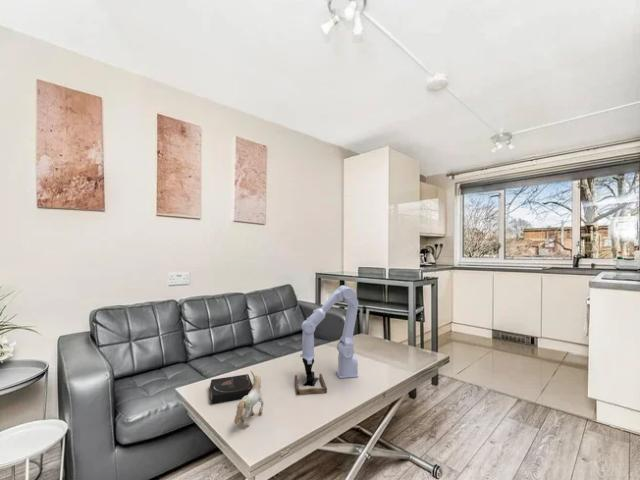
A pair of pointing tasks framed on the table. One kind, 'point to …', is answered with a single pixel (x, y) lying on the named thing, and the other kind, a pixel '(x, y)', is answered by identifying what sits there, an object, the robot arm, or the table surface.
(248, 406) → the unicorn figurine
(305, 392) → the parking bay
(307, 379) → the black bevelled base
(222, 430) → the table surface
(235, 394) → the portable cd player
